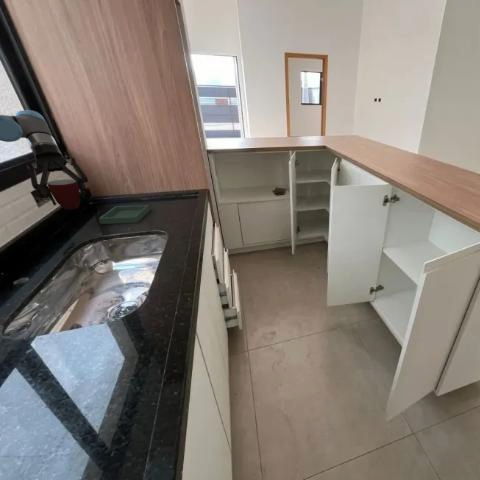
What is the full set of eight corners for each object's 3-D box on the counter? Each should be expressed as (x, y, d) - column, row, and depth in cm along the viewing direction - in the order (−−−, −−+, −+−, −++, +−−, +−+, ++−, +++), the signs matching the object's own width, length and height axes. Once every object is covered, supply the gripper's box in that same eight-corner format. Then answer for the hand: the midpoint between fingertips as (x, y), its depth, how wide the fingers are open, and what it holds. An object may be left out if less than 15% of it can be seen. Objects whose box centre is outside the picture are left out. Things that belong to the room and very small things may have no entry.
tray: (100, 224, 114) (98, 218, 113) (117, 211, 127) (115, 206, 125) (137, 222, 116) (135, 217, 115) (150, 210, 129) (148, 205, 128)
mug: (64, 203, 104) (55, 178, 100) (90, 202, 107) (82, 177, 103) (53, 212, 96) (42, 185, 91) (81, 210, 99) (72, 184, 94)
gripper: (82, 152, 109) (105, 199, 107) (9, 158, 96) (34, 212, 94) (79, 140, 104) (103, 189, 102) (1, 145, 90) (27, 202, 88)
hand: (70, 200), depth 98 cm, fingers closed on mug, 8 cm apart
